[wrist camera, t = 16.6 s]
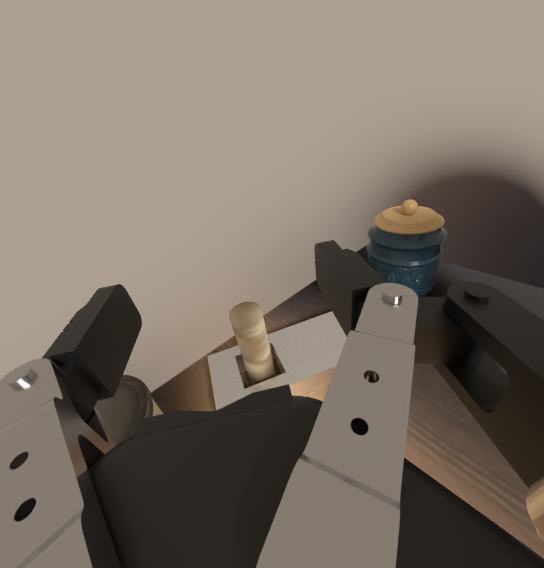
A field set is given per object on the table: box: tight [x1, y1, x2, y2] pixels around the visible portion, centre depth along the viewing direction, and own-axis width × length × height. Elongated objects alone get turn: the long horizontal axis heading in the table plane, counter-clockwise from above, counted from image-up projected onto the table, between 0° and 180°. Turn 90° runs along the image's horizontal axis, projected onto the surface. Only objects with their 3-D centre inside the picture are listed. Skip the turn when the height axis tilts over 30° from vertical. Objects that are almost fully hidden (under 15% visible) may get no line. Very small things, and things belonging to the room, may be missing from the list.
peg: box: [229, 302, 276, 386], centre depth 35 cm, size 4×4×14 cm
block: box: [207, 311, 347, 410], centre depth 39 cm, size 26×10×4 cm, turn 110°
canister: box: [367, 200, 447, 297], centre depth 48 cm, size 13×13×18 cm
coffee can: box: [95, 375, 164, 446], centre depth 25 cm, size 10×10×14 cm
